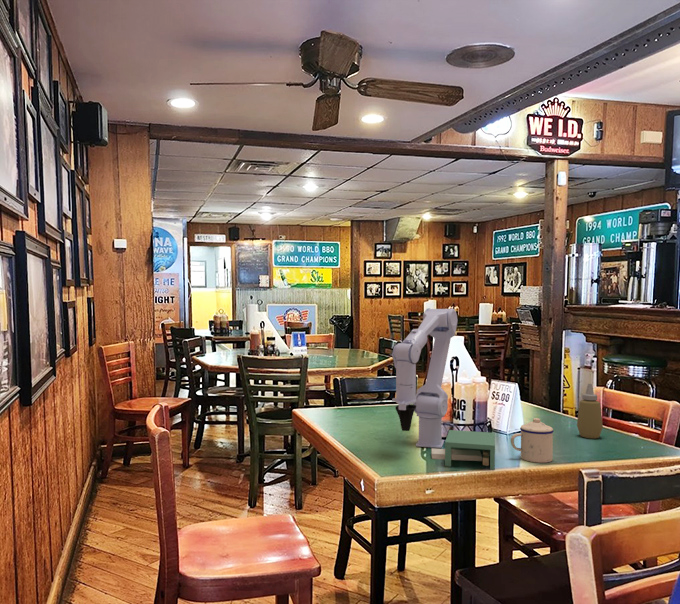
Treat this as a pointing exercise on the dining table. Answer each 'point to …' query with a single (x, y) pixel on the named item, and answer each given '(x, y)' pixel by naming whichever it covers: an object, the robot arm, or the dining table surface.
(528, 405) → the dining table surface
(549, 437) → the teacup with lid
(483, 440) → the shelf
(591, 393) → the squeeze bottle
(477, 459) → the beige rectangular block
